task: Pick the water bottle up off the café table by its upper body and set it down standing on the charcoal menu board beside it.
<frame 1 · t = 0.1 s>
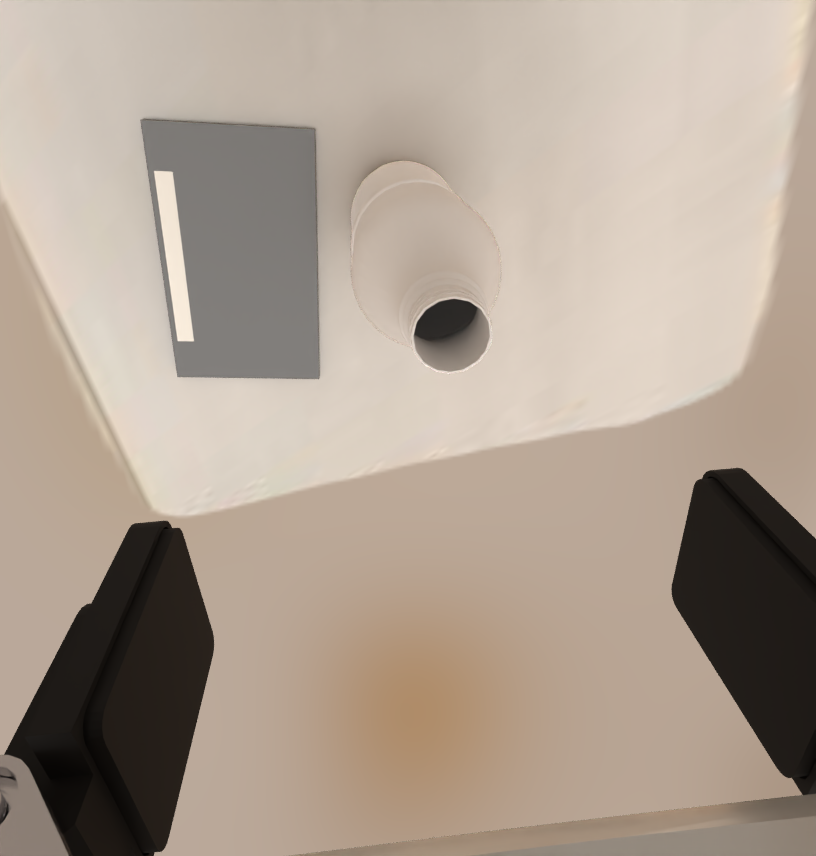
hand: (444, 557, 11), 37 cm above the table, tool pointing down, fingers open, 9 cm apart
menu board: (241, 261, 44), on the table
water bottle: (400, 210, 43), on the table
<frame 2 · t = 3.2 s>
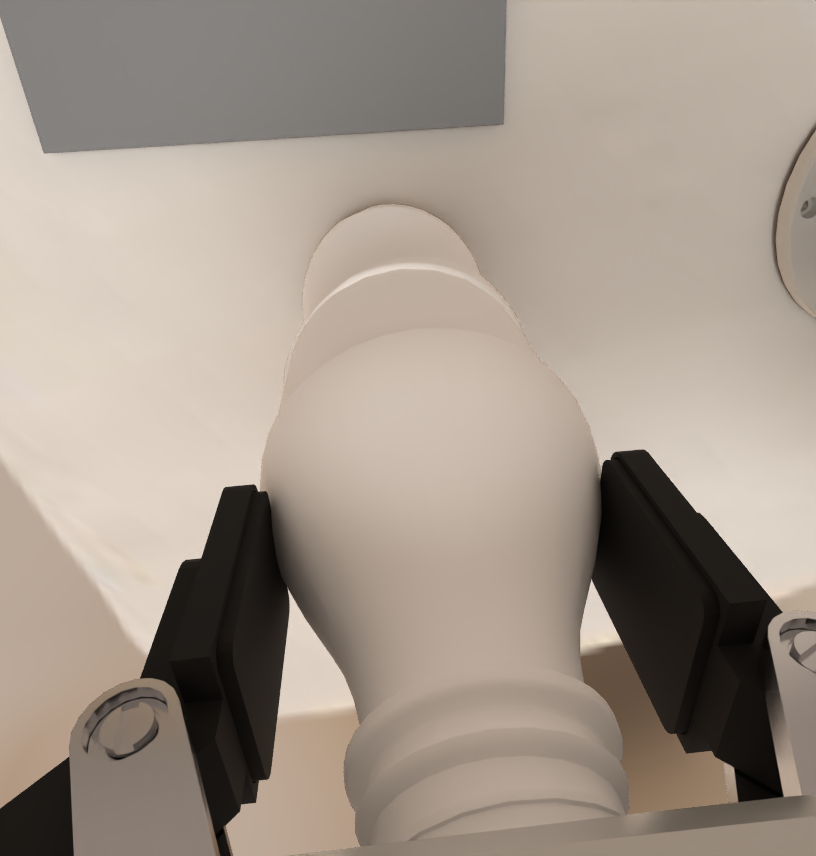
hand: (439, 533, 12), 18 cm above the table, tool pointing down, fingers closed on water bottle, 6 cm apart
water bottle: (388, 276, 28), on the table, touching gripper
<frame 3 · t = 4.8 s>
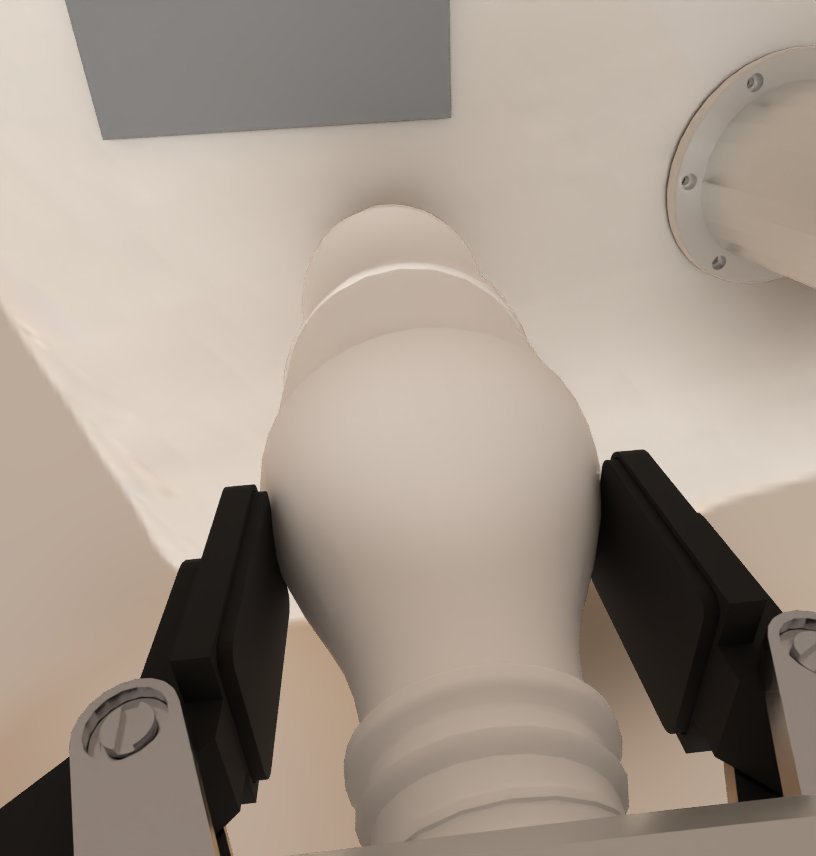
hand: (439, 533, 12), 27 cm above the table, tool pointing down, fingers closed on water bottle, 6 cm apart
menu board: (263, 1, 29), on the table
water bottle: (388, 276, 28), point 9 cm above the table, touching gripper
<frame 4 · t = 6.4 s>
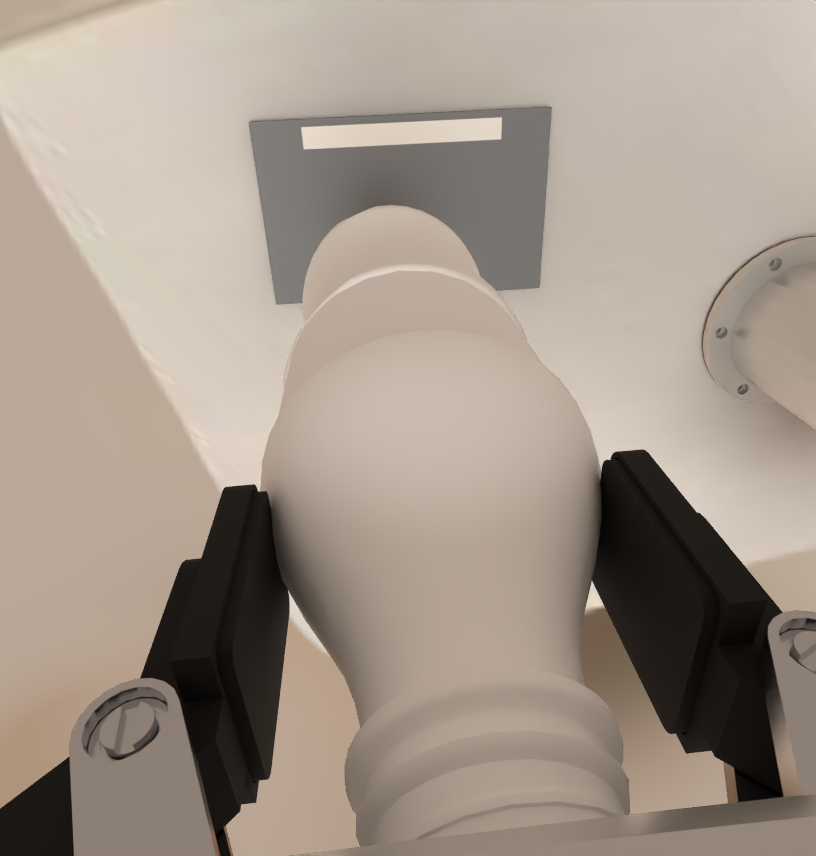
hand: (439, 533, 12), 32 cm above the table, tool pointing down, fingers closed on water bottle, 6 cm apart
menu board: (405, 210, 39), on the table
water bottle: (388, 277, 28), point 13 cm above the table, touching gripper
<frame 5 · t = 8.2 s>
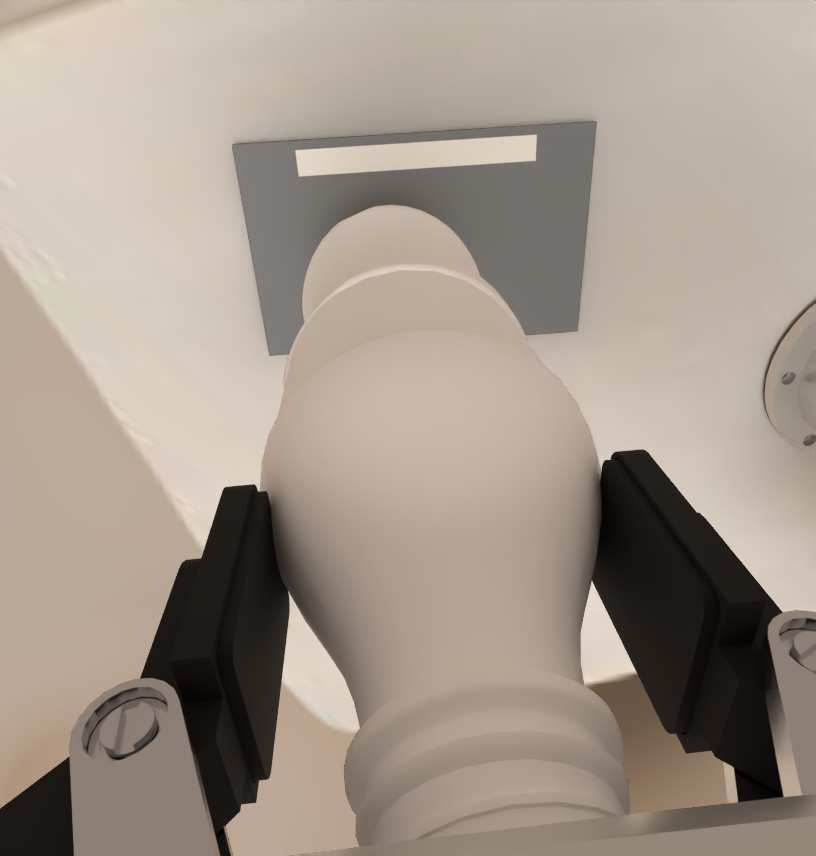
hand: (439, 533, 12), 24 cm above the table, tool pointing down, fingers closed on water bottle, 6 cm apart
menu board: (420, 244, 33), on the table
water bottle: (388, 277, 28), point 6 cm above the table, touching gripper
when the fingers open (20 cm above the table, at t = 9.8 s): water bottle drops 1 cm, resting on menu board.
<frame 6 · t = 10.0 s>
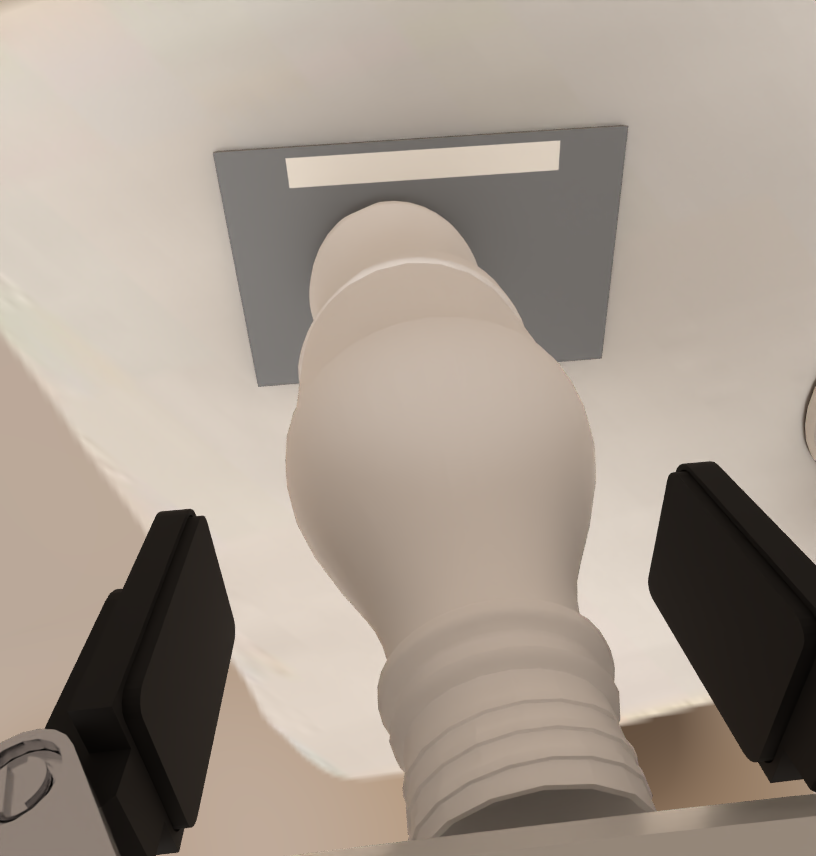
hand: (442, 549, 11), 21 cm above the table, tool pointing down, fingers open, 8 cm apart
menu board: (427, 263, 29), on the table
water bottle: (389, 270, 29), resting on menu board
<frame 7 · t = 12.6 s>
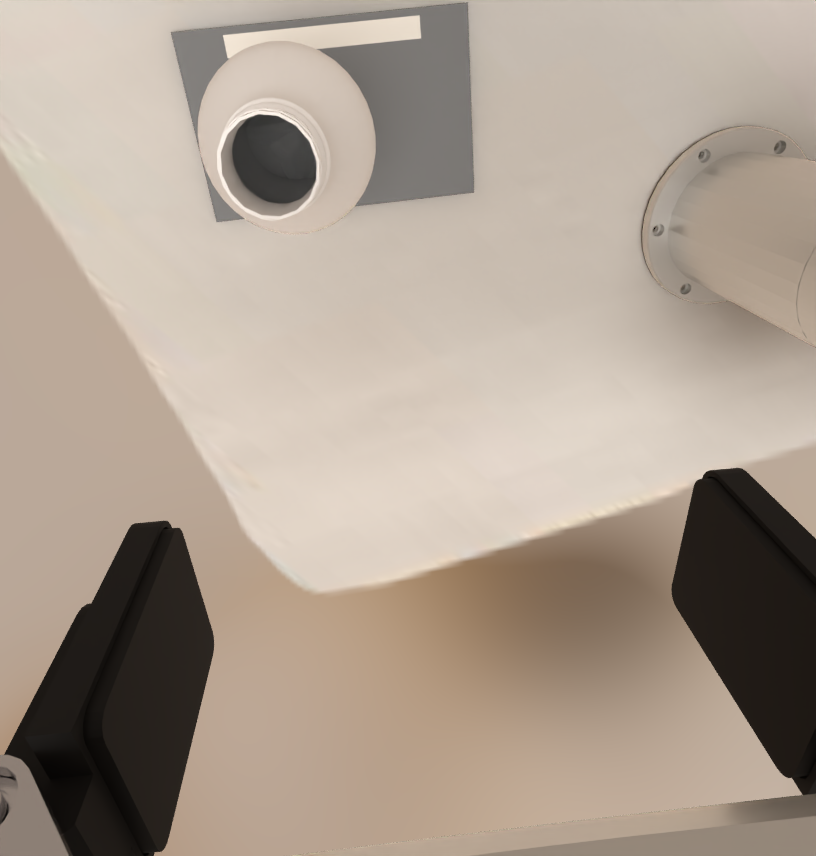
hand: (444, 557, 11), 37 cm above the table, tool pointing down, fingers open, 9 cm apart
menu board: (334, 118, 40), on the table
water bottle: (306, 122, 39), resting on menu board
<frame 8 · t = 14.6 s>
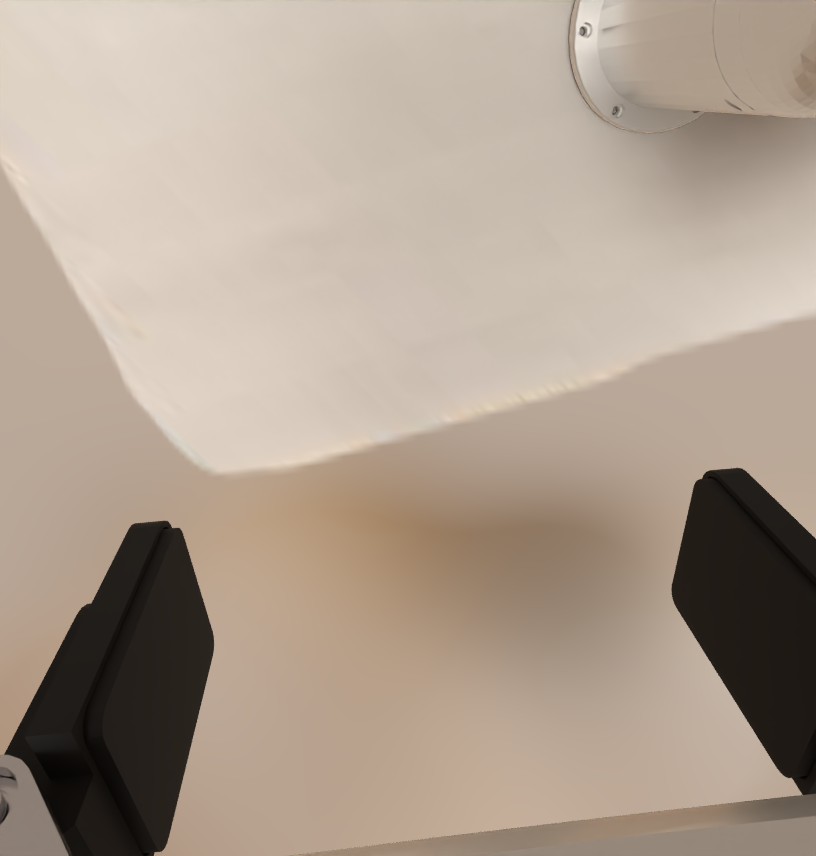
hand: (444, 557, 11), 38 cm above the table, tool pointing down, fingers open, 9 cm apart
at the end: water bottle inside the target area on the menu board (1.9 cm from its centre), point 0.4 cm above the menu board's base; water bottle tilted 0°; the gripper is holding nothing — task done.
